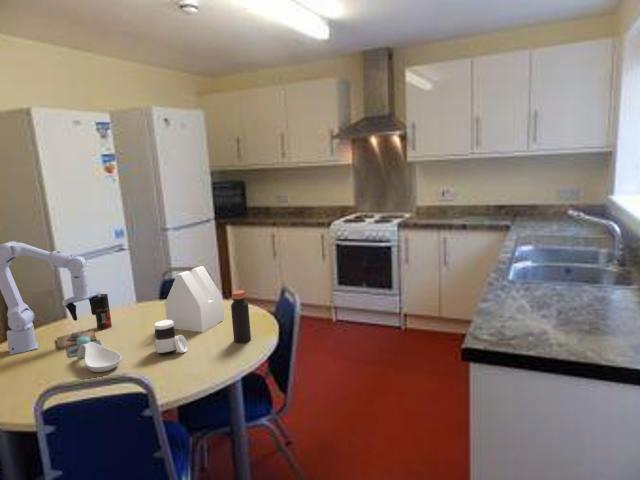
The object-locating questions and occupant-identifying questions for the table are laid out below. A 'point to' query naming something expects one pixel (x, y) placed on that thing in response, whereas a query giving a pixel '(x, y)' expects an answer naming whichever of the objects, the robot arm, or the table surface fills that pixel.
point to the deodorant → (103, 313)
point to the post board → (74, 339)
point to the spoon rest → (98, 357)
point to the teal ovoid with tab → (83, 340)
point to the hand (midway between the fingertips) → (84, 317)
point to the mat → (74, 349)
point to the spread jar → (168, 339)
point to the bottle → (240, 317)
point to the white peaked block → (194, 301)
